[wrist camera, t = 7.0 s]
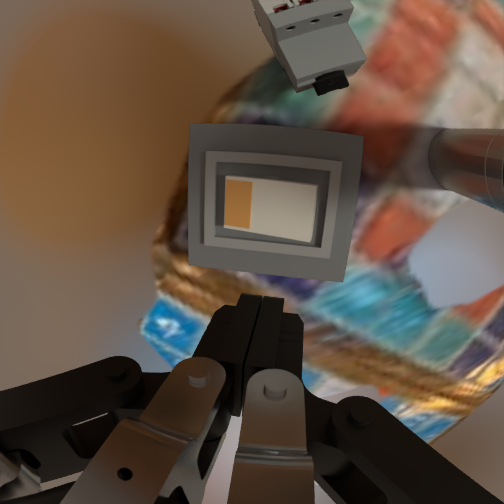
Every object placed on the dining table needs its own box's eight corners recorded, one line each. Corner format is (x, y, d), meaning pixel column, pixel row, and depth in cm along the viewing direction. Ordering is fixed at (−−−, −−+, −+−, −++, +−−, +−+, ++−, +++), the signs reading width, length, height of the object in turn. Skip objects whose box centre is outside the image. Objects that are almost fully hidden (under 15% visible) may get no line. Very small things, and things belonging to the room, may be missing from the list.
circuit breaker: (301, 109, 34) (305, 87, 20) (258, 24, 30) (238, -30, 16) (352, 92, 32) (385, 64, 18) (308, 8, 28) (311, -50, 14)
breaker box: (353, 137, 34) (365, 136, 28) (337, 263, 41) (343, 285, 34) (205, 126, 36) (187, 123, 30) (202, 249, 43) (186, 267, 37)
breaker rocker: (318, 184, 29) (316, 186, 28) (311, 239, 31) (309, 242, 30) (230, 174, 32) (225, 176, 31) (228, 225, 34) (223, 228, 33)
